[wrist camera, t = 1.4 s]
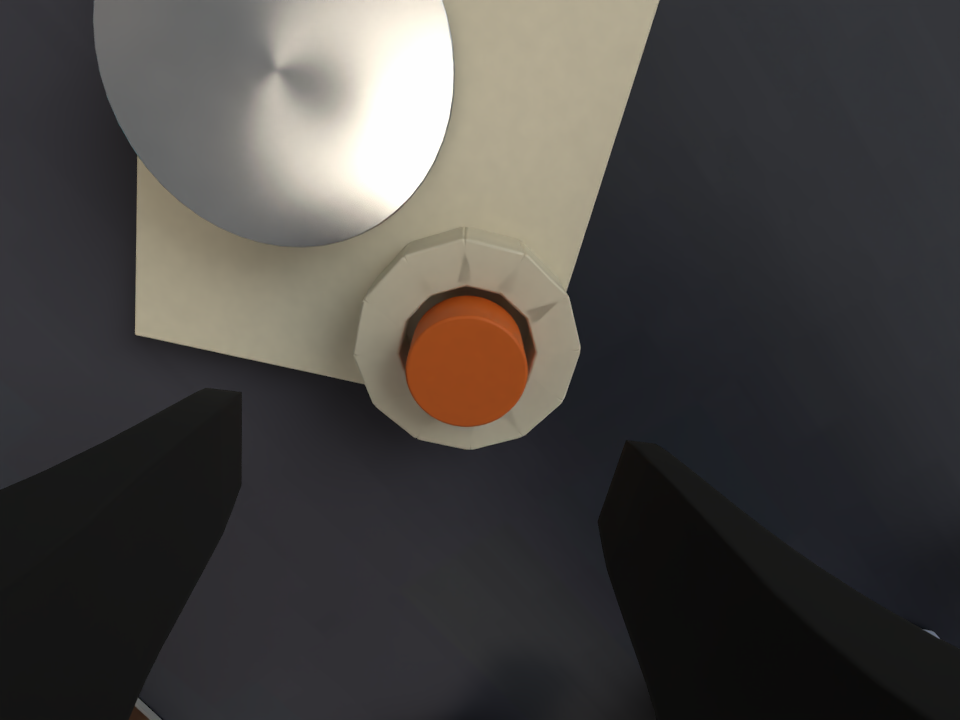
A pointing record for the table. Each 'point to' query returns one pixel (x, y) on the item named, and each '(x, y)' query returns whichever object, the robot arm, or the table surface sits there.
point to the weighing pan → (281, 107)
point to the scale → (428, 224)
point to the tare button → (466, 362)
